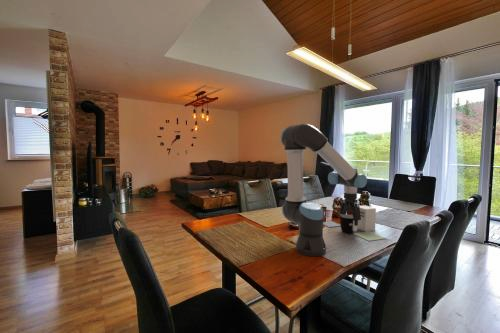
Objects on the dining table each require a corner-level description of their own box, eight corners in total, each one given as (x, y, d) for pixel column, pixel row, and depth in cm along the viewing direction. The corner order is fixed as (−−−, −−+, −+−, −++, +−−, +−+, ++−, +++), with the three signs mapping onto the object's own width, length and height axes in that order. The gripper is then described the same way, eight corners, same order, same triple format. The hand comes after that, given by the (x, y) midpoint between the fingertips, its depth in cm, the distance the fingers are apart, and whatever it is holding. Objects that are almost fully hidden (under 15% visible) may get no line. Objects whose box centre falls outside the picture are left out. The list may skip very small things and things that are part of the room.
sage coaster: (368, 241, 133) (368, 240, 133) (353, 234, 144) (353, 233, 144) (385, 238, 136) (385, 238, 136) (369, 232, 148) (369, 231, 148)
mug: (348, 235, 141) (349, 218, 141) (336, 231, 149) (337, 215, 149) (361, 232, 147) (362, 216, 147) (349, 228, 155) (349, 213, 154)
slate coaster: (328, 227, 157) (328, 226, 157) (320, 223, 166) (320, 222, 166) (341, 226, 160) (341, 225, 159) (332, 221, 169) (332, 221, 169)
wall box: (364, 231, 150) (365, 209, 149) (354, 226, 158) (355, 206, 157) (375, 229, 152) (376, 208, 151) (365, 225, 161) (365, 205, 160)
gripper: (368, 195, 137) (367, 233, 139) (343, 189, 158) (343, 222, 159) (358, 195, 135) (357, 234, 136) (334, 190, 156) (333, 223, 157)
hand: (349, 228), depth 148 cm, fingers closed on mug, 9 cm apart
